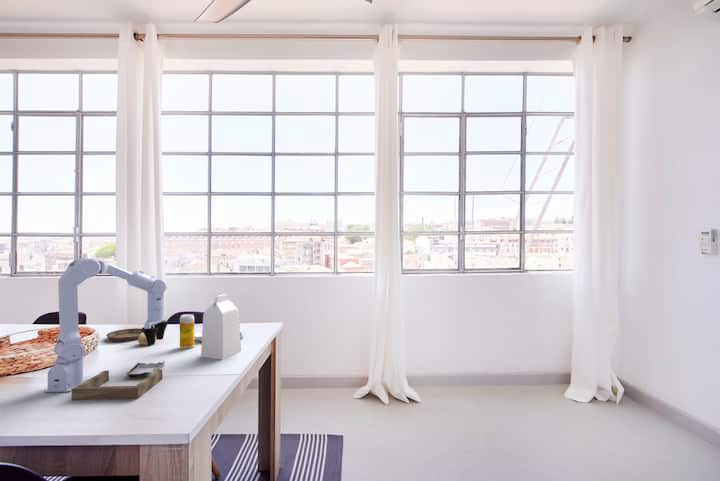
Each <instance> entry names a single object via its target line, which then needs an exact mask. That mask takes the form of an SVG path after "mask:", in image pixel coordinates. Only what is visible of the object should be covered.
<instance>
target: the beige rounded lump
mask: <svg viewBox="0 0 720 481" xmlns="http://www.w3.org/2000/svg"><path fill="white" fill-rule="evenodd" d="M137 341H138V342H137V343H138V344H139V345H140V346H142V347H143V346H149V345H148V343H147V339H146V336H145V334H144V333H143V332H142V333H141V334H140V335H139V336H138V339H137ZM156 341H158V340H157V338H155V342H156Z"/></svg>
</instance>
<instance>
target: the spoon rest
mask: <svg viewBox="0 0 720 481" xmlns="http://www.w3.org/2000/svg"><path fill="white" fill-rule="evenodd" d="M243 338H244V331H243V330H242V328H241V327H240V339H241V340H243ZM194 340H196V341H199V342H202V331H198V332H194Z"/></svg>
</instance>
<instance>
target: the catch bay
mask: <svg viewBox="0 0 720 481" xmlns="http://www.w3.org/2000/svg"><path fill="white" fill-rule="evenodd" d="M109 378H110V372H109V370H103V371H101V372H100V373H98V374H96V375H94V376H93V377H90V378H88V379H89V380H87V381H85V382H83V383H82V384H80V385H78V386H76V387H75V388H73V389H72V390H71V401H89V400H90V401H93V400H94V401H95V400H100V401H101V400H129V399H130V400H134V399H136V400H137V399H140V397H142V396H143V395H144V394H146V393H147V392H148V391H149V390H151V389H152V388H153V387H154V386H156V385H157V384H158V383H159V382H161V381H162V380H163V369H160V370H157V371H155V372H154V373H153V374H151V375H150V376H149V377H147V378H143V379H142V381H140V382H139V383H137V384H136V385H114V386H113V385H109V386H108V385H107V386H106V385H105V386H102V385H104V384H106V383H107V382H108V381H109V380H110V379H109Z"/></svg>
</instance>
